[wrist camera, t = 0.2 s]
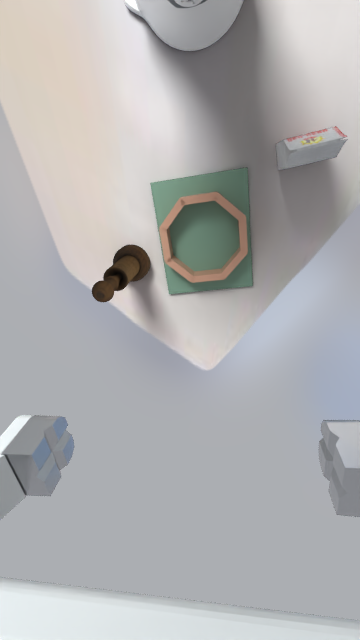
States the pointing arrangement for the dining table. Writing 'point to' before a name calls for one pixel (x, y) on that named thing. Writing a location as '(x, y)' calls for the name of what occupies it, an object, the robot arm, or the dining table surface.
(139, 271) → the brown wooden chess piece
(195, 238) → the green mat
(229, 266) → the pink octagonal ring
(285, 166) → the tea bag
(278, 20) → the dining table surface
